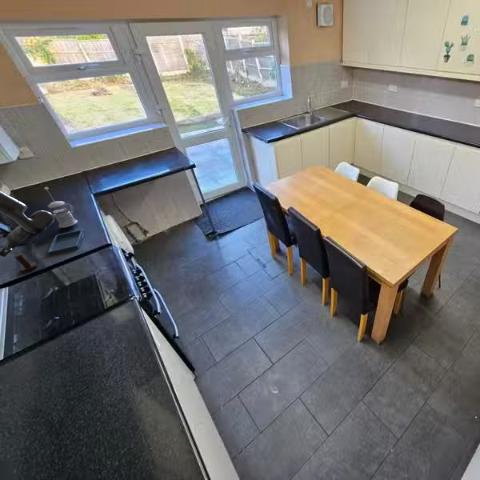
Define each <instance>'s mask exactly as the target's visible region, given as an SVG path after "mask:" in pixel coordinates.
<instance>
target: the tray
mask: <svg viewBox="0 0 480 480" xmlns="http://www.w3.org/2000/svg"><path fill="white" fill-rule="evenodd" d="M85 233H86V231H85V230H84V228H82V229H81V228H80V229H76V230H72V231H68V232H63V233H59V234H56V235H55V236H54V238H53V240H52V242H51V244H50V245H49V248H48V250H47V252H46V253H47V255H48V256H50V254H51V255H55V254H54V253H56V254H59V253H65V252H69V251H73V250H79V249H80V247H81V245H82V242H83V239H84V237H85ZM56 248H58V250H54V249H56ZM64 251H65V252H64Z"/></svg>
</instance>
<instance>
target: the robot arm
mask: <svg viewBox="0 0 480 480" xmlns="http://www.w3.org/2000/svg"><path fill="white" fill-rule="evenodd" d="M27 209H28V205H26V203H23V201H20V200H18V199H16V198H15V197H13V196H11V195H9V194H7V193H5V192H3V191H2V190H0V213H1V214H2V215H5V216H6V217H8V218H10V219H11V220H13V221H14V222H15V223H16V224H17V225H18V226H17V227H14V229H12V230H11V231H10V232H9V233H8V234H7V235H6V240H7V242H6V243H5V244H4V245H3V246H2V249H0V257H2V258H5V257H7V256H8V255H9V254H10V253H11V252H13V251H14V250H16V248H19V247H24V246H25V247H26V246H27V245H29V244H30V243H31V242H33V241H34V240H35V239H36V238H37V237H38V236H40V234H43V233H44V232H45V231H47V229H48V228H50V227H51V226H52V225H53V224H54V223H55V219H56V218H55V216H54V214H53V213H52V212H50V211H47V210H41V209H40V210H37V211H35V212H33V213H32V214H31V215H30V216H26V214H25V212H26V211H27Z"/></svg>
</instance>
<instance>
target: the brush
mask: <svg viewBox="0 0 480 480" xmlns="http://www.w3.org/2000/svg"><path fill="white" fill-rule="evenodd" d="M13 258H14V259H15V260H16V261H17V262H18V263H19V264H20V265H21V266H20V269H21V272H22V273H27V272H29V271H32V270H34V269H37V268H38V265H37V263H36V262H35V261H31V262H30V261H29V260H28V259H27V258H26V257H25V256H24V255H23V254H22V253H16V254H14V255H13Z"/></svg>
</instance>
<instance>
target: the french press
mask: <svg viewBox="0 0 480 480" xmlns="http://www.w3.org/2000/svg"><path fill="white" fill-rule="evenodd" d="M43 189H44V191H47V192H48V193H49V195H50V197H51V200H53V202H50V203H49V204H48V205H47V207H48V208H49V209H54V210H53V211H52V214H53V216H54V218H55V219H56V221H57V222H58V227H59V228H69V227H72V226H74V225H76V224H77V223H78V222H79V221H78V220H77V219H75V217H74V216H73V214H74V212H75V211H74V207H73V206H72V205H71V204H70V203H67V202H66V203H65V201H61V200H57V201H55V200H54V198H53V197H52V195H51V193H50V192H49V187H48V186H45V187H44V188H43ZM67 205H69V207H70V210H71V211H70V210H69V209H68V207H66V206H67ZM63 206H65V207H63Z"/></svg>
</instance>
